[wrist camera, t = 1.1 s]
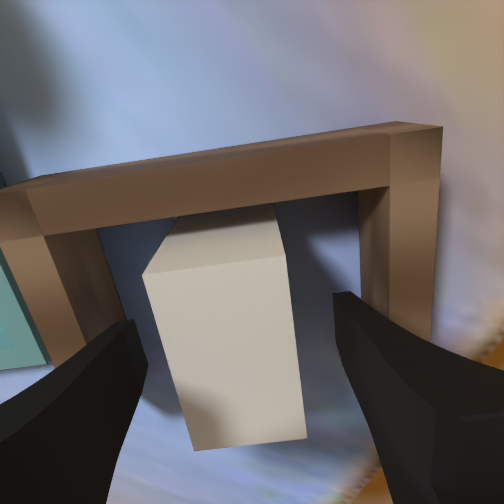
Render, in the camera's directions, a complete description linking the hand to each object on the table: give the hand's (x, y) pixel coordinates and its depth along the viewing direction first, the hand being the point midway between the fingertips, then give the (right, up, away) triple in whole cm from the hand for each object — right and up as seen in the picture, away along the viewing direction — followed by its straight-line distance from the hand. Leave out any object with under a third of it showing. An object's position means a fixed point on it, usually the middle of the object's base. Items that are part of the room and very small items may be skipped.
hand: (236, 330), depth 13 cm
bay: (0, +1, +3) cm, 4 cm away
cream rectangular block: (0, +1, +3) cm, 4 cm away
